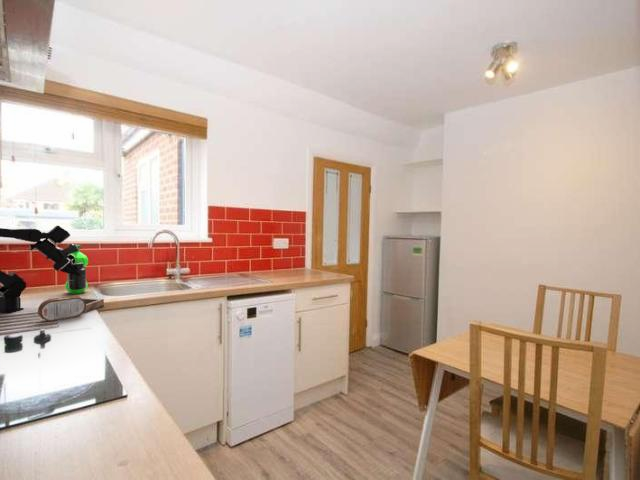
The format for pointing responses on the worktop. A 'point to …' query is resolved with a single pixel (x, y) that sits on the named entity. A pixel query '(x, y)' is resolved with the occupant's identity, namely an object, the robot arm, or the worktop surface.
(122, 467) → the worktop surface
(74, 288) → the supplement bottle
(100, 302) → the keeper collar
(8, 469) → the worktop surface
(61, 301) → the tin
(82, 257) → the plastic bottle
